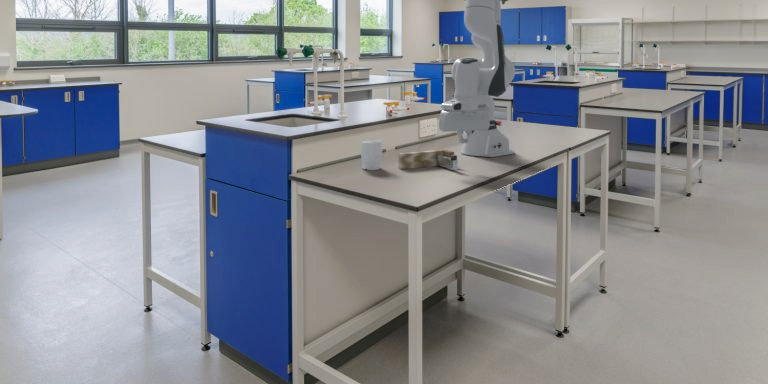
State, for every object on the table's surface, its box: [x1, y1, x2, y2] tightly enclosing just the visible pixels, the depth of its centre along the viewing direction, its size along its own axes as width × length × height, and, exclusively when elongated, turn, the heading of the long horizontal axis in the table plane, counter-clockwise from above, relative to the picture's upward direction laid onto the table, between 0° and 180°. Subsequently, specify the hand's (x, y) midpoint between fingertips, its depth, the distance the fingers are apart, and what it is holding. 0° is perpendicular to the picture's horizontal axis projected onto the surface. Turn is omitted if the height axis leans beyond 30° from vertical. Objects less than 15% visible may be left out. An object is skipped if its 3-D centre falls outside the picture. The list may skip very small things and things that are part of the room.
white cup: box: [360, 139, 383, 171], centre depth 224 cm, size 8×8×10 cm
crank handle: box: [437, 154, 459, 171], centre depth 226 cm, size 11×3×5 cm, turn 28°
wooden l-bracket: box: [397, 148, 455, 170], centre depth 228 cm, size 20×6×6 cm, turn 118°
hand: (463, 143), depth 223 cm, fingers closed
